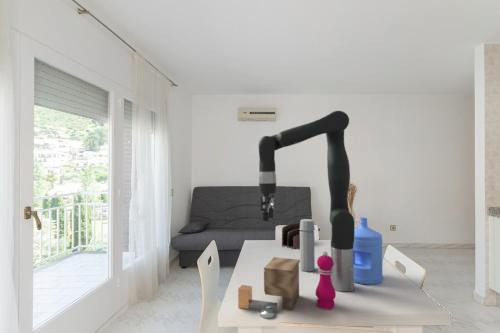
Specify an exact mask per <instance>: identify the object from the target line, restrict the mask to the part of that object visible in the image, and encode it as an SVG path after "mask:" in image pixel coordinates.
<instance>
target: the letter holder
mask: <svg viewBox="0 0 500 333" xmlns="http://www.w3.org/2000/svg"><path fill="white" fill-rule="evenodd" d="M299 229H300V223H298V222H297V223H289V224H286V225H284V226H282V228H281V247H282V248H285V247H287V249H290V248H291V250H296V249H300V231H301V230H299Z"/></svg>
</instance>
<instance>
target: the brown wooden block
mask: <svg viewBox="0 0 500 333" xmlns="http://www.w3.org/2000/svg"><path fill="white" fill-rule="evenodd" d="M263 275H264V276H263V290H264V291H263V292H264V295H267V296H275V297H282V298H281V299H282V302H281V304H282V308H281V309H282V310H285V311H293V309H294V307H295V305H296V303H297V301H298V298H299V296H300V259H298V258H285V257H273V258H271V260H270V261H269V262H268V263H267V264H266V265H265V266H264V267H263Z"/></svg>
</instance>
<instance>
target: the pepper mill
mask: <svg viewBox="0 0 500 333" xmlns="http://www.w3.org/2000/svg"><path fill="white" fill-rule="evenodd" d="M328 254H329V253H328V251H323V252H322V255H319V257H317V260H316V264H317V266H318V274H319V281H318V284H317V285H316V289H315V296H316V297H317V299H316V306H317V307H319V309H324V310H332V309H334V308H335V299H336V295H337V294H336V293H337V292H336V290H335V289H334V287H333V285H332V282H331V274H332V269H331V268H332V267H333V265H334V262H333V259H332V258H331V255H330V256H329V255H328Z"/></svg>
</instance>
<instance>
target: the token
mask: <svg viewBox="0 0 500 333" xmlns="http://www.w3.org/2000/svg"><path fill="white" fill-rule="evenodd" d="M259 312H260V314H259V316H260V317H261V318H262V319H265V320H266V319H269V320H270V319H273V318H274V317H275V316H276V315H275V313H276V312H275V311H274V310H273V309H270V308H265V309H262V310H261V311H260V310H259Z"/></svg>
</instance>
